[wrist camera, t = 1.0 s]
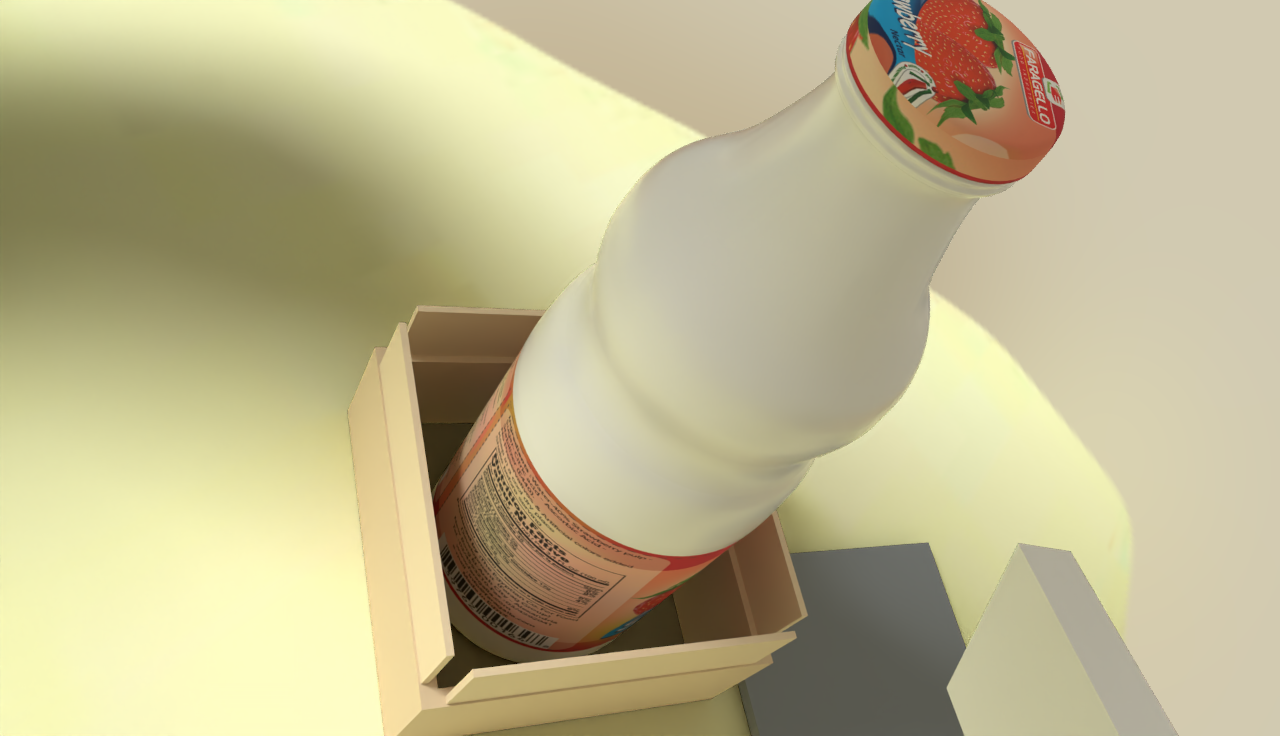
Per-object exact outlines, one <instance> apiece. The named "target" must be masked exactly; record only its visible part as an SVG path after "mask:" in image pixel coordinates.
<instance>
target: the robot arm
mask: <svg viewBox="0 0 1280 736" xmlns="http://www.w3.org/2000/svg"><path fill="white" fill-rule="evenodd" d="M947 691H948V693H949V696H950V699H951V701H952V704H953V707H954V709H955V712H956V715H957V717H958V720H959V723H960V726H961V728H962V731H963V734H964V736H1178V734H1177V732H1176V731H1175V729H1174V727H1173V725H1172V724H1171V722H1170V720H1169V719H1168V717H1167V715H1166V714H1165V712H1164V710H1163V708H1162V707H1161V705H1160V703H1159V701H1158V700H1157V698H1156V696H1155V695H1154V693H1153V691H1152V690H1151V688H1150V686H1149V684H1148V683H1147V681H1146V679H1145V678H1144V676H1143V674H1142V673H1141V671H1140V669H1139V667H1138V666H1137V664H1136V662H1135V661H1134V659H1133V657H1132V655H1131V654H1130V652H1129V650H1128V649H1127V647H1126V645H1125V643H1124V642H1123V640H1122V638H1121V637H1120V635H1119V633H1118V631H1117V630H1116V628H1115V626H1114V625H1113V623H1112V621H1111V620H1110V618H1109V616H1108V614H1107V613H1106V611H1105V609H1104V608H1103V606H1102V604H1101V602H1100V601H1099V599H1098V597H1097V596H1096V594H1095V592H1094V590H1093V589H1092V587H1091V585H1090V584H1089V582H1088V580H1087V579H1086V577H1085V575H1084V573H1083V572H1082V570H1081V568H1080V567H1079V565H1078V563H1077V561H1076V560H1075V558H1074V556H1073V555H1072V553H1071V551H1066V550H1059V549H1053V548H1046V547H1040V546H1033V545H1027V544H1020V543H1018V545H1017V547H1016V549H1015V551H1014V553H1013V555H1012V557H1011V559H1010V561H1009V563H1008V565H1007V567H1006V569H1005V571H1004V573H1003V575H1002V577H1001V579H1000V581H999V583H998V585H997V587H996V589H995V591H994V593H993V595H992V597H991V599H990V601H989V603H988V605H987V607H986V609H985V611H984V613H983V615H982V617H981V619H980V621H979V623H978V625H977V627H976V629H975V631H974V633H973V635H972V637H971V639H970V641H969V644H968V646H967V648H966V650H965V652H964V654H963V656H962V658H961V660H960V662H959V664H958V666H957V668H956V670H955V672H954V674H953V676H952V678H951V680H950V682H949V684H948V686H947Z"/></svg>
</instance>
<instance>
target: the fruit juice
mask: <svg viewBox="0 0 1280 736" xmlns="http://www.w3.org/2000/svg"><path fill="white" fill-rule="evenodd" d="M1064 120H1065V107H1064V101H1063V96H1062V93H1061V90H1060V88H1059V85H1058V82H1057V80H1056V78H1055V76H1054V74H1053V73H1052V71H1051V69H1050V67H1049V65H1048V64H1047V63H1046V61H1045V59H1044V58H1043V57H1042V55H1041V54H1040V52H1039V51H1038V50H1037V49H1036V47H1035V46H1034V45H1033V44H1032V43H1031V42H1030V40H1029V39H1028V38H1027V37H1026V36H1025V35H1024V34H1023V33H1022V32H1021V31H1020V30H1019V29H1018V28H1017V27H1016V26H1015V25H1014V24H1013V23H1012V22H1011V21H1009V20H1008V19H1007V18H1006V17H1004V16H1003V15H1002V14H1001V13H1000V12H998V11H997V10H996V9H994V8H993V7H991V6H990V5H988V4H987V3H986V2H984V1H982V0H871V1H870V2H869V3H868V4H867V5H866V7H865V8H864V9H863V10H862V11H861V12H860V13H859V14H858V16H857V17H856V18H855V19H854V21H853V23H852V24H851V26H850V28H849V30H848V33H847V35H846V36H845V37H844V38H843V40H842V41H841V43H840V45H839V47H838V51H837V55H836V59H835V72H834V73H833V74H832V75H831V76H830V77H829V78H827V79H826V80H825V81H824V82H823V83H821V84H820V85H819V86H817V87H816V88H815V89H813V90H812V91H811V92H809V93H808V94H806V95H805V96H803V97H802V98H800V99H799V100H797V101H796V102H795V103H793V104H791V105H790V106H788V107H786V108H785V109H783V110H782V111H780V112H778V113H777V114H775V115H773V116H772V117H770V118H768V119H766V120H764V121H763V122H761V123H759V124H757V125H754V126H752V127H749V128H747V129H743V130H740V131H736V132H732V133H727V134H722V135H718V136H714V137H709V138H705V139H702V140H698V141H695V142H693V143H690V144H688V145H686V146H683V147H681V148H679V149H677V150H675V151H674V152H672V153H670V154H668V155H667V156H665V157H664V158H662V159H661V160H660V161H658V162H657V163H656V164H655V165H653V166H652V167H651V168H650V169H649V170H648V171H647V172H646V173H645V174H643V175H642V177H641V178H640V179H639V180H638V181H637V182H636V183H635V184H634V186H633V187H632V188H631V190H630V191H629V192H628V193H627V195H626V196H625V197H624V199H623V200H622V201H621V203H620V204H619V205H618V207H617V208H616V210H615V211H614V213H613V215H612V217H611V219H610V221H609V223H608V226H607V228H606V230H605V233H604V235H603V238H602V242H601V245H600V248H599V252H598V255H597V260H596V263H594V264H593V265H591V266H590V267H588V268H587V269H586V270H584V271H583V272H582V273H580V274H579V275H578V276H577V277H576V278H575V279H574V280H573V281H571V282H570V283H569V284H568V285H567V287H566V288H565V289H564V290H563V291H562V292H561V293H560V294H559V296H558V297H557V298H556V299H555V300H554V302H553V303H552V304H551V305H550V307H549V308H548V309H547V311H546V312H545V313H544V315H543V316H542V317H541V319H540V320H539V321H538V323H537V324H536V326H535V327H534V329H533V330H532V332H531V333H530V335H529V337H528V339H527V340H526V342H525V344H524V346H523V347H522V349H521V351H520V352H519V354H518V356H517V357H516V359H515V360H514V362H513V364H512V365H511V367H510V368H509V370H508V371H507V373H506V375H505V376H504V378H503V379H502V381H501V382H500V384H499V386H498V387H497V389H496V390H495V392H494V393H493V395H492V397H491V398H490V400H489V401H488V403H487V404H486V406H485V408H484V409H483V411H482V412H481V414H480V416H479V417H478V419H477V420H476V422H475V423H474V425H473V427H472V428H471V430H470V431H469V433H468V435H467V436H466V438H465V439H464V441H463V442H462V444H461V446H460V447H459V449H458V450H457V452H456V454H455V455H454V457H453V458H452V460H451V461H450V463H449V465H448V466H447V468H446V469H445V471H444V473H443V474H442V476H441V477H440V479H439V480H438V482H437V484H436V486H435V487H434V489H433V491H432V494H431V496H432V503H433V510H434V517H435V524H436V530H437V537H438V544H439V551H440V558H441V565H442V572H443V578H444V585H445V592H446V599H447V606H448V613H449V619H450V622H451V623H452V624H453V625H454V627H455V628H456V629H457V630H458V631H459V632H461V633H462V634H463V635H464V636H465V637H466V638H468V639H469V640H470V641H472V642H473V643H474V644H476V645H477V646H479V647H481V648H482V649H484V650H486V651H488V652H490V653H492V654H494V655H496V656H499V657H501V658H504V659H507V660H511V661H514V662H519V663H530V662H538V661H546V660H555V659H563V658H571V657H580V656H586V655H588V654H591V653H593V652H595V651H597V650H599V649H601V648H603V647H604V646H606V645H607V644H609V643H610V642H611V641H613V640H614V639H615V638H617V637H618V636H619V635H620V634H622V633H623V632H624V631H625V630H627V629H628V628H629V627H630V626H632V625H633V624H634V623H636V622H637V621H638V620H639V619H641V618H642V617H643V616H644V615H646V614H647V613H648V612H649V611H651V610H652V609H653V608H654V607H656V606H657V605H658V604H659V603H661V602H662V601H663V600H665V599H666V598H667V597H668V596H670V595H671V594H672V593H673V592H675V591H676V590H677V589H678V588H680V587H681V586H682V585H683V584H685V583H686V582H687V581H688V580H690V579H691V578H692V577H693V576H695V575H696V574H697V573H698V572H700V571H701V570H702V569H703V568H705V567H706V566H707V565H709V564H710V563H711V562H712V561H714V560H715V559H716V558H717V557H719V556H720V555H721V554H722V553H724V552H725V551H726V550H727V549H729V548H730V547H731V546H732V545H734V544H735V543H736V542H738V541H739V540H740V539H742V538H743V537H745V536H746V535H747V534H749V533H750V532H751V531H753V530H754V529H755V528H756V527H758V526H759V525H760V524H761V523H762V522H763V521H764V520H766V519H767V518H768V517H769V516H770V515H771V514H772V513H773V512H774V511H775V510H776V509H777V508H778V507H779V506H780V505H781V504H782V503H783V502H784V501H785V500H786V499H787V498H788V497H789V496H790V495H791V494H792V492H793V491H794V490H795V489H796V488H797V487H798V485H799V484H800V483H801V481H802V480H803V479H804V477H805V476H806V474H807V472H808V471H809V469H810V467H811V465H812V464H813V462H814V460H815V458H817V457H821V456H823V455H826V454H828V453H831V452H833V451H835V450H838V449H840V448H842V447H844V446H846V445H848V444H850V443H851V442H853V441H855V440H856V439H858V438H860V437H861V436H863V435H864V434H865V433H867V432H868V431H869V430H870V429H871V428H872V427H873V426H875V425H876V424H877V423H878V422H879V421H880V420H881V419H882V418H883V417H884V416H885V415H886V414H887V413H888V412H889V411H890V410H891V409H892V408H893V407H894V406H895V404H896V403H897V402H898V401H899V400H900V398H901V397H902V396H903V394H904V393H905V392H906V390H907V388H908V387H909V385H910V384H911V382H912V380H913V378H914V376H915V374H916V372H917V370H918V368H919V365H920V363H921V360H922V357H923V353H924V350H925V346H926V342H927V336H928V330H929V320H930V294H929V285H930V282H931V279H932V276H933V273H934V272H935V270H936V268H937V266H938V264H939V263H940V261H941V259H942V257H943V255H944V253H945V251H946V249H947V248H948V246H949V244H950V242H951V240H952V238H953V236H954V234H955V233H956V231H957V230H958V228H959V227H960V225H961V223H962V222H963V220H964V219H965V217H966V216H967V214H968V213H969V212H970V210H971V209H972V207H973V206H974V204H975V203H976V202H977V201H978V200H979V199H980V198H982V197H988V196H992V195H995V194H998V193H1001V192H1003V191H1005V190H1007V189H1008V188H1010V187H1011V186H1012V185H1013V184H1014V183H1015V182H1016V181H1018V180H1020V179H1022V178H1024V177H1025V176H1026V175H1028V174H1029V173H1030V172H1031V171H1032V170H1033V169H1034V168H1035V167H1036V165H1037V164H1038V163H1039V162H1040V161H1041V160H1042V159H1043V158H1044V157H1045V155H1046V154H1047V153H1048V152H1049V151H1050V149H1051V148H1052V147H1053V145H1054V144H1055V142H1056V141H1057V139H1058V138H1059V136H1060V134H1061V132H1062V129H1063V125H1064Z"/></svg>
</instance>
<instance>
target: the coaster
mask: <svg viewBox="0 0 1280 736" xmlns="http://www.w3.org/2000/svg"><path fill="white" fill-rule="evenodd" d="M790 557H791V560H792V563H793V567H794V570H795V573H796V577H797V580H798V584H799V587H800V590H801V594H802V597H803V600H804V604H805V607H806V610H807V614H808V616H807V617H805V618H803V619H802V620H800V621H798V622H797V623H795V624H794V625H792V626H790V627H789V628H787V629H786V630H784V631H782V632H789V631H795V633H796V637H797V638H796V639H794V640H793V641H791V642H789V643H788V644H786V645H784V646H783V647H781V648H779V649H778V650H776V651H774V652H773V653H771V656H772V660H773V663H772V664H770V665H769V666H767V667H765V668H764V669H762V670H760V671H758V672H757V673H755V674H753V675H752V676H750V677H748V678H746V679H745V680H743V681H741V682H740V683H738V686H739V690H740V694H741V697H742V701H743V705H744V709H745V713H746V717H747V720H748V724H749V728H750V732H751V736H964V734H963V731H962V728H961V726H960V723H959V720H958V717H957V715H956V712H955V709H954V707H953V704H952V701H951V699H950V696H949V693H948V691H947V686H948V684H949V682H950V680H951V678H952V676H953V674H954V672H955V670H956V668H957V666H958V664H959V662H960V660H961V658H962V656H963V654H964V652H965V650H966V646H965V643H964V641H963V638H962V635H961V632H960V630H959V627H958V624H957V621H956V618H955V616H954V613H953V610H952V607H951V604H950V602H949V599H948V596H947V593H946V591H945V588H944V585H943V582H942V579H941V577H940V574H939V571H938V568H937V566H936V563H935V560H934V557H933V554H932V552H931V549H930V546H929V543H917V544H904V545H892V546H879V547H867V548H854V549H841V550H829V551H816V552H804V553H791V554H790Z"/></svg>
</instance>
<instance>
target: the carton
mask: <svg viewBox="0 0 1280 736" xmlns="http://www.w3.org/2000/svg"><path fill="white" fill-rule="evenodd" d="M546 311H547V310H525V309H500V308H475V307H450V306H425V305H417V306H416V308H415V311H414V313H413V315H412V317H411V319H410V321H409V324H408V326H407V325H406V322H399V323H398V325H397V328H396V330H395V332H394V334H393V337H392V339H391V341H390V343H389V346H388V347H375V348H374V350H373V353H372V355H371V357H370V360H369V362H368V364H367V367H366V369H365V371H364V374H363V376H362V378H361V381H360V383H359V385H358V388H357V390H356V392H355V395H354V397H353V399H352V402H351V404H350V406H349V409H348V419H349V428H350V437H351V446H352V455H353V463H354V472H355V481H356V490H357V499H358V508H359V517H360V525H361V534H362V543H363V552H364V561H365V570H366V578H367V587H368V596H369V605H370V614H371V623H372V631H373V640H374V649H375V658H376V667H377V676H378V685H379V693H380V702H381V711H382V720H383V729H384V736H464V735H471V734H478V733H484V732H491V731H498V730H505V729H511V728H518V727H525V726H532V725H538V724H545V723H552V722H559V721H565V720H572V719H579V718H586V717H592V716H599V715H606V714H613V713H619V712H626V711H633V710H640V709H647V708H653V707H660V706H667V705H674V704H680V703H687V702H694V701H701V700H707V699H712V698H714V697H716V696H717V695H719V694H721V693H722V692H724V691H726V690H728V689H729V688H731V687H733V686H734V685H736V684H738V683H740V682H741V681H743V680H745V679H746V678H748V677H750V676H752V675H753V674H755V673H757V672H758V671H760V670H762V669H764V668H765V667H767V666H769V665H770V664H772V663H773V660H772V656H771V653H773V652H774V651H776V650H778V649H779V648H781V647H783V646H784V645H786V644H788V643H789V642H791V641H793V640H794V639H796V638H797V637H796V633H795V631H789V632H782V631H784V630H786V629H787V628H789V627H790V626H792V625H794V624H795V623H797V622H798V621H800V620H802V619H803V618H805V617H807V616H808V614H807V610H806V607H805V604H804V600H803V597H802V594H801V590H800V587H799V584H798V580H797V577H796V573H795V570H794V567H793V563H792V560H791V557H790V553H789V550H788V547H787V543H786V540H785V536H784V533H783V530H782V526H781V523H780V520H779V516H778V513H777V510H775V511H774V512H773V513H772V514H771V515H770V516H769V517H768V518H767V519H766V520H764V521H763V522H762V523H761V524H760V525H759V526H758V527H756V528H755V529H754V530H753V531H751V532H750V533H749V534H747V535H746V536H745V537H743V538H742V539H740V540H739V541H738V542H736V543H735V544H734V545H732V546H731V547H730V548H729V549H727V550H726V551H725V552H724V553H722V554H721V555H720V556H719V557H717V558H716V559H715V560H714V561H712V562H711V563H710V564H709V565H707V566H706V567H705V568H703V569H702V570H701V571H700V572H698V573H697V574H696V575H695V576H693V577H692V578H691V579H690V580H688V581H687V582H686V583H685V584H683V585H682V586H681V587H680V588H678V589H677V590H676V591H675V592H673V598H674V602H675V606H676V610H677V614H678V618H679V622H680V626H681V631H682V635H683V639H684V643H685V644H680V645H672V646H664V647H655V648H647V649H638V650H630V651H622V652H613V653H605V654H597V655H588V656H580V657H571V658H563V659H555V660H546V661H538V662H530V663H521V664H513V665H504V666H496V667H488V668H479V669H472V670H471V671H470V672H469V673H468V674H467V675H466V676H465V677H464V678H463V679H462V680H461V681H460V682H459V683H458V684H457V685H456V686H454V687H446V688H438V685H437V678H436V675H437V674H438V673H439V672H440V671H441V669H442V668H443V667H444V666H445V665H446V664H447V663H448V662H449V661H450V660H451V659H452V658H453V657H454V655H455V654H454V647H453V640H452V633H451V626H450V619H449V613H448V606H447V599H446V592H445V585H444V578H443V572H442V565H441V558H440V551H439V544H438V537H437V530H436V524H435V517H434V510H433V503H432V496H431V489H430V483H429V476H428V469H427V462H426V455H425V448H424V441H423V435H422V428H421V423H475V422H476V420H477V419H478V417H479V416H480V414H481V412H482V411H483V409H484V408H485V406H486V404H487V403H488V401H489V400H490V398H491V397H492V395H493V393H494V392H495V390H496V389H497V387H498V386H499V384H500V382H501V381H502V379H503V378H504V376H505V375H506V373H507V371H508V370H509V368H510V367H511V365H512V364H513V362H514V360H515V359H516V357H517V356H518V354H519V352H520V351H521V349H522V347H523V346H524V344H525V342H526V340H527V339H528V337H529V335H530V333H531V332H532V330H533V329H534V327H535V326H536V324H537V323H538V321H539V320H540V319H541V317H542V316H543V315H544V313H545V312H546Z"/></svg>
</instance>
